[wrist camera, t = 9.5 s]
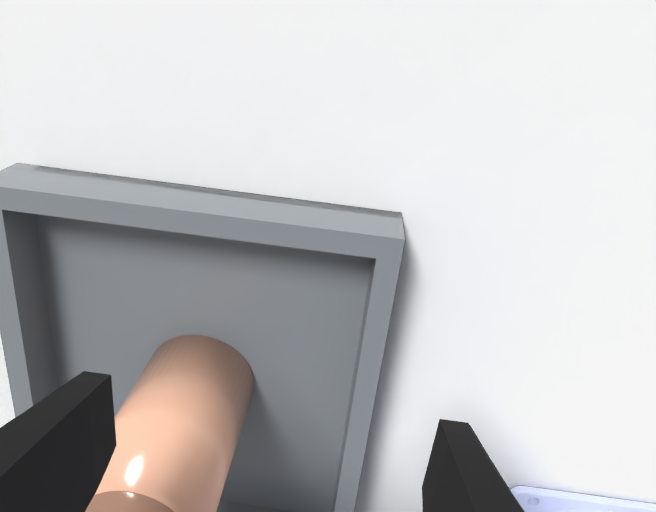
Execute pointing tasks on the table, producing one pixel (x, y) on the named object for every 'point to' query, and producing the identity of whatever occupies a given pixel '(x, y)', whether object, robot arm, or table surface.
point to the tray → (207, 311)
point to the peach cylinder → (178, 430)
